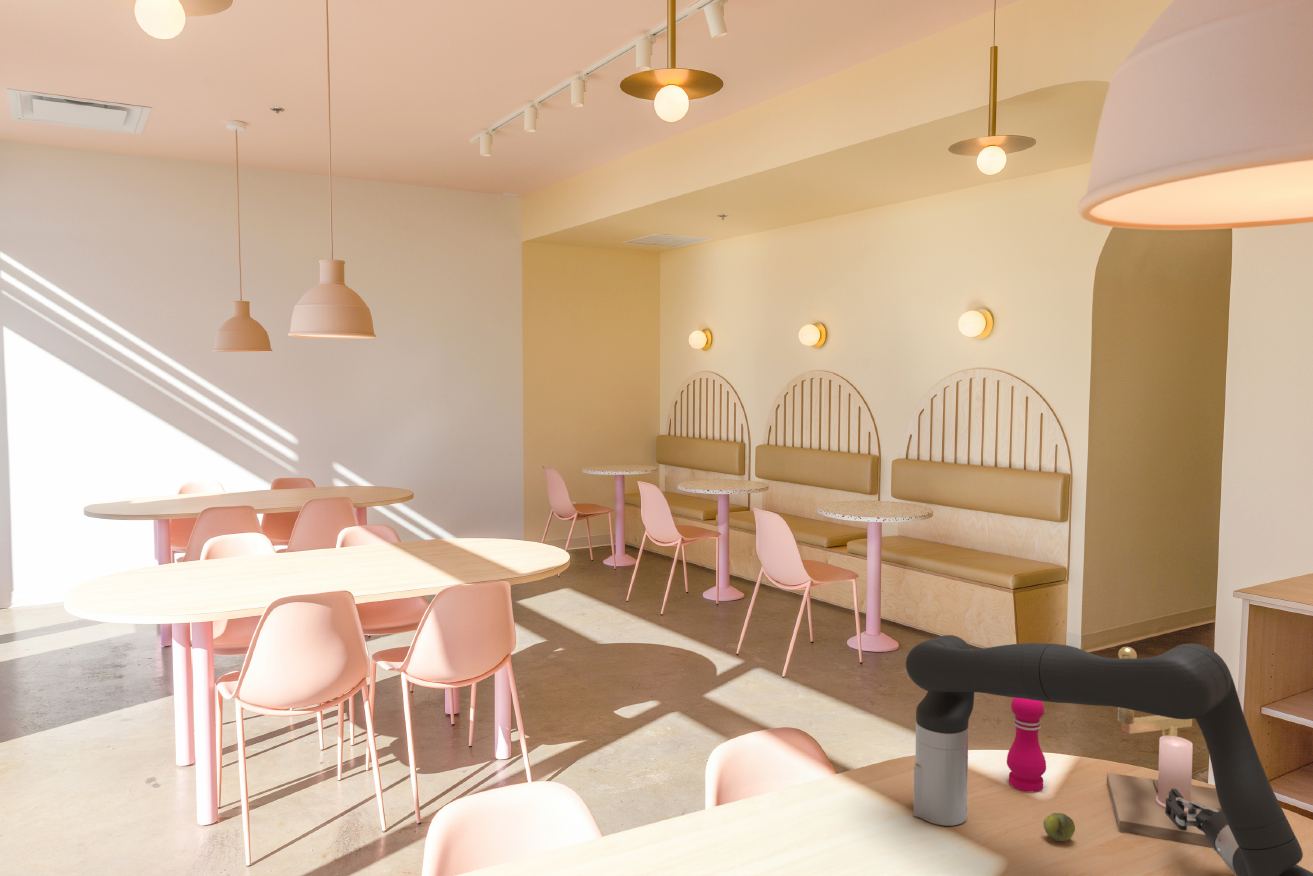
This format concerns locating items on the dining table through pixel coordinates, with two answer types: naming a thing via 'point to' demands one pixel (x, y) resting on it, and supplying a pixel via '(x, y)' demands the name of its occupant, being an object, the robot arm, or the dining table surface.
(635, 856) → the dining table surface
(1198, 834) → the base
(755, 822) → the dining table surface
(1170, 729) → the brass crank handle
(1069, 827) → the lime
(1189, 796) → the cover
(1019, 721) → the pepper mill
